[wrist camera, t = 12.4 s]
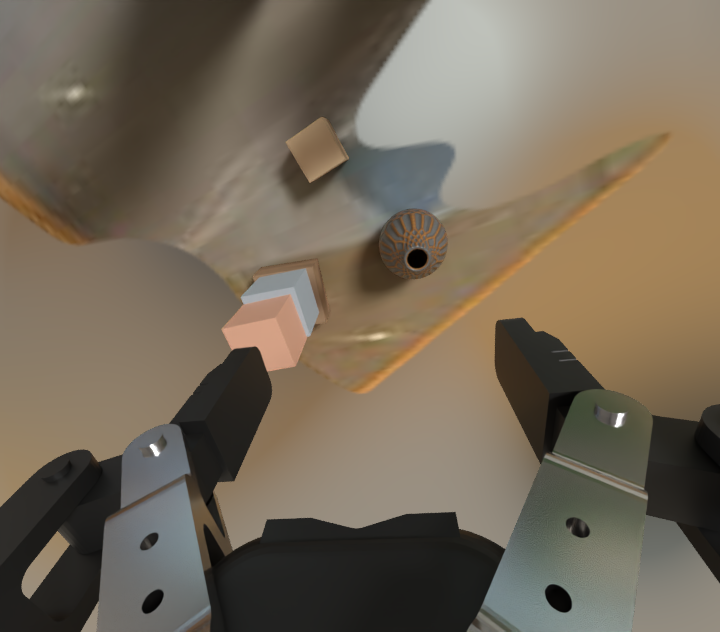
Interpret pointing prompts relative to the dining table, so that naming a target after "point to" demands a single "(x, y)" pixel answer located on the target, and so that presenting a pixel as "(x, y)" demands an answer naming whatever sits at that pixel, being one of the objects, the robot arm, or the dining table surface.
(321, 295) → the walnut slab
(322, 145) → the maple block
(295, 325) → the terracotta cube
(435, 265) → the vase
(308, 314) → the slate cube
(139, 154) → the dining table surface
